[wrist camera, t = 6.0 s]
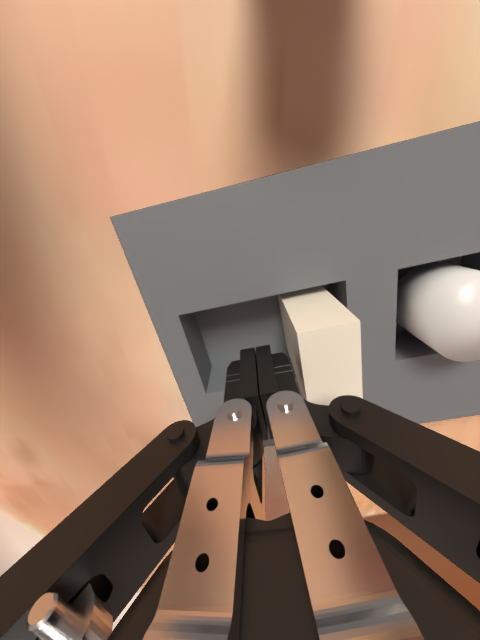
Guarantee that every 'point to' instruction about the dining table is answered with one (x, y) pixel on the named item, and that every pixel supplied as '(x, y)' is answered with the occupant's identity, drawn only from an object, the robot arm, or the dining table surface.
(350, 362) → the paddle switch
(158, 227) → the control panel
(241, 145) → the dining table surface
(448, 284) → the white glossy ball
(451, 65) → the dining table surface
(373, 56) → the dining table surface
